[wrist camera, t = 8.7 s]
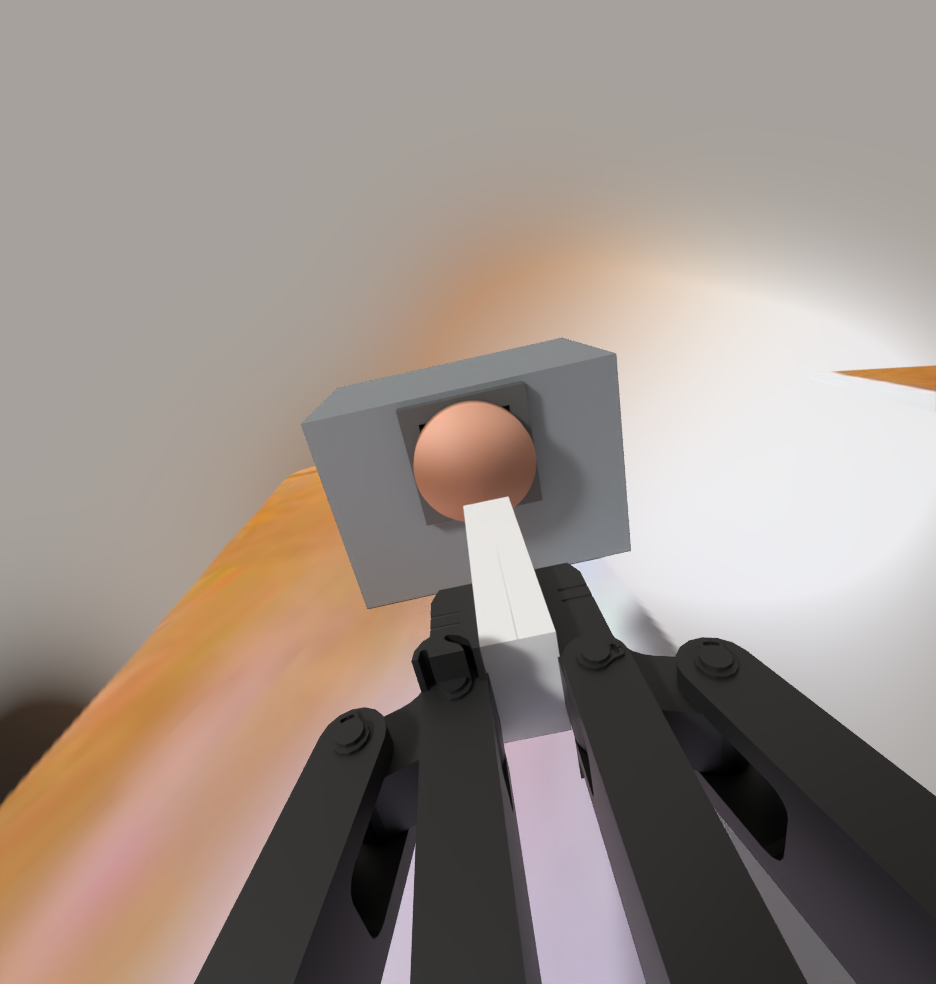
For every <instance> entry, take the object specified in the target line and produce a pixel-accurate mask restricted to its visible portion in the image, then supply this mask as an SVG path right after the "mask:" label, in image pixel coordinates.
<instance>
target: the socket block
mask: <svg viewBox="0 0 936 984" xmlns="http://www.w3.org/2000/svg"><path fill="white" fill-rule="evenodd" d="M469 400H479V401H487V402H491V403H494V404H497V405H499V406H501V407H503V408H505V409H507V410H508V411H509V412H511V413H512V414H513V415H514V416H515V417H516V418H517V419H518V420H519V421H520V423H521V424H522V425H523V427H524V428H525V429H526V431H527V432H528V434H529V435H530V437H531V439H532V442H533V444H534V448H535V452H536V472H535V476H534V480H533V483H532V485H531V487H530V489H529V491H528V492H527V494H526V495H525V497H524V498H523V499H522V500H521V502H520V503H519V504H518V505H516V506H515V507H514V508H513V511H514V514H515V517H516V520H517V522H518V525H519V528H520V531H521V534H522V537H523V540H524V542H525V545H526V548H527V551H528V554H529V557H530V560H531V562H532V565H533V568H534V569H538V568H543V567H548V566H552V565H557V564H562V563H568V564H573V563H578V562H582V561H587V560H591V559H596V558H600V557H605V556H610V555H613V554H619V553H623V552H628V551H631V545H630V533H629V519H628V505H627V492H626V478H625V465H624V451H623V438H622V425H621V411H620V398H619V384H618V371H617V358H616V353H613V352H609V351H606V350H602V349H599V348H596V347H592V346H589V345H585V344H582V343H579V342H575V341H571V340H568V339H564V338H559V339H555V340H550V341H546V342H541V343H537V344H532V345H528V346H524V347H519V348H514V349H510V350H505V351H501V352H496V353H492V354H488V355H483V356H478V357H474V358H469V359H465V360H461V361H456V362H452V363H447V364H443V365H438V366H434V367H429V368H425V369H421V370H416V371H411V372H407V373H402V374H398V375H394V376H389V377H385V378H380V379H376V380H371V381H367V382H362V383H358V384H353V385H349V386H344V387H340V388H337V389H336V390H335V391H334V392H333V393H332V394H331V395H330V396H329V397H328V398H327V399H326V400H325V401H324V402H323V403H322V404H321V405H320V406H319V407H317V408H316V409H315V410H314V411H313V412H312V413H311V414H310V415H309V416H308V417H307V418H306V419H305V420H304V421H303V422H302V423H301V426H302V429H303V432H304V435H305V437H306V440H307V443H308V446H309V449H310V451H311V454H312V457H313V460H314V462H315V465H316V468H317V471H318V474H319V476H320V479H321V482H322V485H323V487H324V490H325V493H326V496H327V499H328V501H329V504H330V507H331V510H332V512H333V515H334V518H335V521H336V523H337V526H338V529H339V532H340V535H341V537H342V540H343V543H344V546H345V548H346V551H347V554H348V557H349V560H350V562H351V565H352V568H353V571H354V573H355V576H356V579H357V582H358V585H359V587H360V590H361V593H362V596H363V598H364V601H365V604H366V607H367V609H369V608H373V607H378V606H383V605H387V604H392V603H396V602H401V601H405V600H410V599H414V598H419V597H423V596H428V595H433V594H437V593H438V591H439V590H443V589H448V588H452V587H457V586H462V585H467V584H472V577H471V568H470V560H469V551H468V542H467V534H466V525H465V522H463V521H458V520H455V519H452V518H449V517H447V516H445V515H442V514H441V513H439V512H438V511H436V510H435V509H434V508H433V507H431V506H430V505H429V503H428V502H427V501H426V500H425V499H424V497H423V496H422V494H421V493H420V491H419V489H418V487H417V484H416V481H415V476H414V467H413V464H414V452H415V446H416V442H417V439H418V437H419V434H420V433H421V431H422V429H423V427H424V426H425V425H426V423H427V422H428V421H429V420H430V419H431V418H432V417H433V416H434V415H435V414H436V413H438V412H439V411H441V410H442V409H444V408H445V407H448V406H450V405H452V404H455V403H458V402H462V401H469Z"/></svg>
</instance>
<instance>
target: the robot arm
mask: <svg viewBox="0 0 936 984" xmlns="http://www.w3.org/2000/svg"><path fill="white" fill-rule="evenodd" d="M463 508H464V517H465V525H466V534H467V542H468V551H469V560H470V568H471V577H472V584H467V585H462V586H457V587H452V588H448V589H443V590H439V591H438V593H437V594H436V596H435V598H434V599H433V601H432V603H431V631H430V637H429V638H428V639H426V640H425V641H423V642H422V643H421V644H420V645H419V646H418V648H417V649H416V650H415V651H414V654H413V658H412V664H413V668H414V671H415V674H416V677H417V680H418V683H419V686H420V689H421V693H420V694H419V696H418V697H416V698H415V699H414V700H413V701H412V702H411V703H409V704H407V705H406V706H404V707H402V708H401V709H399V710H397V711H395V712H393V713H391V714H388V715H386V716H383V715H382V714H380V713H379V712H378V711H377V710H375V709H370V708H365V707H364V708H358V709H352V710H350V711H348V712H346V713H344V714H342V715H340V716H339V717H337V718H336V719H335V720H334V721H333V722H331V723H330V724H329V725H328V726H327V728H326V729H325V730H324V732H323V733H322V735H321V736H320V738H319V740H318V742H317V744H316V746H315V748H314V749H313V751H312V753H311V755H310V757H309V759H308V761H307V763H306V765H305V767H304V769H303V771H302V773H301V775H300V777H299V779H298V781H297V783H296V785H295V787H294V789H293V791H292V793H291V795H290V797H289V798H288V800H287V802H286V804H285V806H284V808H283V810H282V812H281V814H280V816H279V818H278V820H277V822H276V824H275V826H274V828H273V830H272V832H271V834H270V836H269V838H268V840H267V842H266V844H265V846H264V847H263V849H262V851H261V853H260V855H259V857H258V859H257V861H256V863H255V865H254V867H253V869H252V871H251V873H250V875H249V877H248V879H247V881H246V883H245V885H244V887H243V889H242V891H241V893H240V895H239V896H238V898H237V900H236V902H235V904H234V906H233V908H232V910H231V912H230V914H229V916H228V918H227V920H226V922H225V924H224V926H223V928H222V930H221V932H220V934H219V936H218V938H217V940H216V942H215V944H214V945H213V947H212V949H211V951H210V953H209V955H208V957H207V959H206V961H205V963H204V965H203V967H202V969H201V971H200V973H199V975H198V977H197V979H196V981H195V983H194V984H381V980H382V976H383V972H384V968H385V964H386V960H387V956H388V952H389V948H390V944H391V940H392V936H393V932H394V928H395V924H396V920H397V916H398V912H399V908H400V904H401V900H402V896H403V892H404V888H405V884H406V880H407V876H408V872H409V868H410V864H411V860H412V856H413V851H414V847H415V843H416V849H415V875H414V900H413V925H412V950H411V976H410V984H542V982H541V976H540V969H539V962H538V956H537V949H536V943H535V936H534V929H533V923H532V916H531V910H530V903H529V897H528V890H527V883H526V877H525V870H524V864H523V857H522V851H521V844H520V837H519V831H518V824H517V818H516V811H515V805H514V798H513V791H512V785H511V778H510V772H509V766H508V762H507V758H506V754H505V749H504V743H508V742H513V741H518V740H523V739H528V738H533V737H538V736H543V735H548V734H553V733H558V732H563V731H568V730H571V726H572V729H573V732H574V736H575V742H576V748H577V754H578V760H579V767H580V773H581V779H582V778H585V781H586V784H587V787H588V791H589V794H590V797H591V801H592V804H593V807H594V811H595V814H596V817H597V821H598V824H599V827H600V831H601V834H602V837H603V841H604V844H605V847H606V851H607V854H608V857H609V861H610V864H611V867H612V871H613V874H614V877H615V881H616V884H617V887H618V891H619V894H620V897H621V901H622V904H623V907H624V911H625V914H626V917H627V921H628V924H629V927H630V931H631V934H632V937H633V941H634V944H635V947H636V951H637V954H638V957H639V961H640V964H641V967H642V970H643V974H644V977H645V980H646V984H808V983H807V981H806V980H805V978H804V976H803V974H802V972H801V970H800V968H799V966H798V965H797V963H796V961H795V959H794V957H793V955H792V953H791V952H790V950H789V948H788V946H787V944H786V942H785V940H784V938H783V937H782V935H781V933H780V931H779V929H778V927H777V925H776V923H775V922H774V920H773V918H772V916H771V914H770V912H769V910H768V909H767V907H766V905H765V903H764V901H763V899H762V897H761V895H760V894H759V892H758V890H757V888H756V886H755V884H754V882H753V880H752V879H751V877H750V875H749V873H748V871H747V869H746V867H745V866H744V864H743V862H742V860H741V858H740V856H739V854H738V852H737V851H736V849H735V847H734V845H733V843H732V841H731V839H730V838H729V836H728V834H727V832H726V830H725V828H724V826H723V824H722V823H721V821H720V819H719V817H718V815H717V813H716V811H715V809H716V810H717V812H718V813H719V814H720V815H721V817H722V818H723V819H724V820H725V822H726V823H727V824H728V825H729V827H730V828H731V829H732V830H733V831H734V833H735V834H736V835H737V836H738V838H739V839H740V840H741V841H742V843H743V844H744V845H745V846H746V847H747V849H748V850H749V851H750V852H751V854H752V855H753V856H754V857H755V859H756V860H757V861H758V862H759V863H760V865H761V866H762V867H763V868H764V870H765V871H766V872H767V873H768V875H769V876H770V877H771V878H772V879H773V881H774V882H775V883H776V884H777V886H778V887H779V888H780V889H781V891H782V892H783V893H784V894H785V896H786V897H787V898H788V899H789V900H790V902H791V903H792V904H793V905H794V907H795V908H796V909H797V910H798V912H799V913H800V914H801V915H802V916H803V918H804V919H805V920H806V921H807V923H808V924H809V925H810V926H811V928H812V929H813V930H814V931H815V932H816V934H817V935H818V936H819V937H820V939H821V940H822V941H823V942H824V944H825V945H826V946H827V947H828V949H829V950H830V951H831V952H832V953H833V955H834V956H835V957H836V958H837V960H838V961H839V962H840V963H841V965H842V966H843V967H844V968H845V969H846V971H847V972H848V973H849V974H850V976H851V977H852V978H853V979H854V981H855V982H856V983H857V984H936V796H935V795H933V794H932V793H931V792H929V791H928V790H927V789H926V788H924V787H923V786H922V785H920V784H919V783H918V782H916V781H915V780H914V779H913V778H911V777H910V776H909V775H907V774H906V773H905V772H904V771H902V770H901V769H899V768H898V767H897V766H896V765H894V764H893V763H892V762H890V761H889V760H888V759H887V758H885V757H884V756H883V755H881V754H880V753H879V752H877V751H876V750H875V749H874V748H872V747H871V746H870V745H868V744H867V743H866V742H865V741H863V740H862V739H861V738H859V737H858V736H857V735H855V734H854V733H853V732H851V731H850V730H849V729H847V728H846V727H845V726H844V725H842V724H841V723H840V722H839V721H837V720H836V719H834V718H833V717H832V716H831V715H829V714H828V713H827V712H825V711H824V710H823V709H822V708H820V707H819V706H818V705H816V704H815V703H814V702H813V701H811V700H810V699H809V698H807V697H806V696H805V695H803V694H802V693H801V692H799V691H798V690H797V689H796V688H794V687H793V686H792V685H790V684H789V683H788V682H786V681H785V680H784V679H783V678H781V677H780V676H779V675H777V674H776V673H775V672H774V671H772V670H771V669H770V668H768V667H767V666H766V665H764V664H763V663H762V662H761V661H759V660H758V659H757V658H755V657H754V656H753V655H752V654H750V653H749V652H748V651H746V650H745V649H743V648H741V647H740V646H738V645H736V644H734V643H732V642H729V641H725V640H722V639H719V638H698V639H694V640H690V641H688V642H687V643H685V644H684V645H682V646H681V647H680V648H679V650H678V652H677V654H676V657H666V656H652V655H644V654H640V653H637V652H634V651H632V650H630V649H628V648H627V647H626V646H625V645H624V644H623V642H621V641H620V640H618V639H616V638H615V637H614V636H613V635H612V633H611V631H610V629H609V627H608V625H607V623H606V621H605V619H604V617H603V615H602V613H601V611H600V609H599V607H598V605H597V604H596V602H595V600H594V598H593V597H592V594H591V592H590V590H589V588H588V586H587V585H586V582H585V580H584V578H583V576H582V574H581V572H580V571H579V570H577V569H576V568H574V567H573V566H571V565H570V564H568V563H562V564H557V565H552V566H548V567H543V568H538V569H534V568H533V565H532V562H531V560H530V557H529V554H528V551H527V548H526V545H525V542H524V540H523V537H522V534H521V531H520V528H519V525H518V522H517V520H516V517H515V514H514V511H513V508H512V505H511V502H510V499H509V497H503V498H499V499H494V500H489V501H484V502H480V503H475V504H470V505H465V506H463ZM713 807H714V808H715V809H714V808H713Z"/></svg>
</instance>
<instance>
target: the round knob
mask: <svg viewBox="0 0 936 984" xmlns="http://www.w3.org/2000/svg"><path fill="white" fill-rule="evenodd" d="M413 467H414V476H415V481H416V484H417V487H418V489H419V491H420V493H421V494H422V496H423V497H424V499H425V500H426V501H427V502H428V503H429V505H430V506H431V507H433V508H434V509H435V510H436V511H438V512H439V513H441V514H442V515H445V516H447V517H449V518H452V519H455V520H458V521H463V522H465V517H464V508H463V506H465V505H470V504H475V503H480V502H484V501H489V500H494V499H499V498H503V497H509V499H510V502H511V505H512V508H514V507H515V506H516V505H518V504H519V503H520V502H521V500H522V499H523V498H524V497H525V495H526V494H527V492H528V491H529V489H530V487H531V485H532V483H533V480H534V476H535V472H536V452H535V448H534V444H533V442H532V439H531V437H530V435H529V434H528V432H527V431H526V429H525V428H524V427H523V425H522V424H521V423H520V421H519V420H518V419H517V418H516V417H515V416H514V415H513V414H512V413H511V412H509V411H508V410H507V409H505V408H503V407H501V406H499V405H497V404H494V403H491V402H487V401H479V400H469V401H462V402H458V403H455V404H452V405H450V406H448V407H445V408H444V409H442V410H441V411H439V412H438V413H436V414H435V415H434V416H433V417H432V418H431V419H430V420H429V421H428V422H427V423H426V425H425V426H424V427H423V429H422V431H421V433H420V434H419V437H418V439H417V442H416V446H415V452H414V464H413Z"/></svg>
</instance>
